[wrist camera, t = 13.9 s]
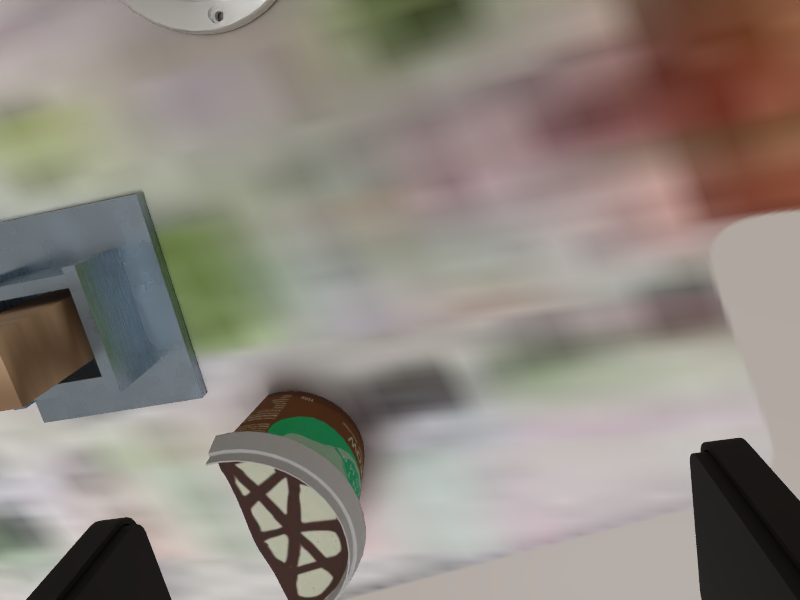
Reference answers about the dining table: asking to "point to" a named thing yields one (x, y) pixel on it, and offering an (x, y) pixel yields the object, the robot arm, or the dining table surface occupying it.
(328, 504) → the food container
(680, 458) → the dining table surface
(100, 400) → the cup bracket
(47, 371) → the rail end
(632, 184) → the dining table surface
